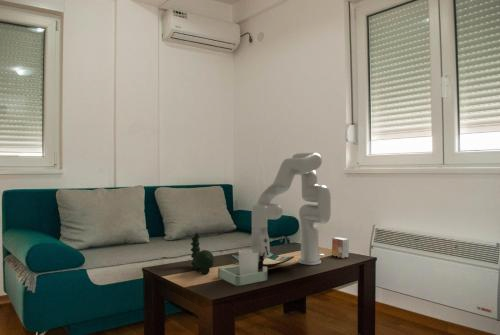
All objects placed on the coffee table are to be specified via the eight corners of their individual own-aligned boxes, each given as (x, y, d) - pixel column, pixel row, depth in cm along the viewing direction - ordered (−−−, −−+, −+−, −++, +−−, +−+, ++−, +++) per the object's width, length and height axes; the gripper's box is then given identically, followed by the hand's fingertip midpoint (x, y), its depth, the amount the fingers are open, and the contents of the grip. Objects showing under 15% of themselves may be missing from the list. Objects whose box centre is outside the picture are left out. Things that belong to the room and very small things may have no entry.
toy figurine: (186, 269, 202) (199, 277, 180) (185, 232, 204) (199, 236, 181) (203, 267, 206) (219, 275, 183) (202, 231, 208) (218, 234, 185)
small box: (331, 255, 228) (331, 237, 228) (338, 254, 231) (338, 236, 231) (342, 258, 221) (342, 239, 221) (348, 257, 225) (348, 238, 225)
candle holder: (263, 278, 181) (263, 252, 181) (244, 281, 176) (244, 254, 176) (252, 272, 190) (252, 248, 190) (234, 275, 185) (234, 250, 185)
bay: (246, 271, 192) (246, 259, 192) (267, 280, 178) (267, 267, 178) (218, 276, 183) (218, 264, 183) (237, 286, 169) (237, 272, 169)
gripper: (275, 232, 181) (275, 271, 182) (257, 228, 194) (257, 264, 194) (262, 233, 177) (262, 273, 177) (244, 229, 190) (244, 266, 190)
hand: (259, 269), depth 186 cm, fingers closed
